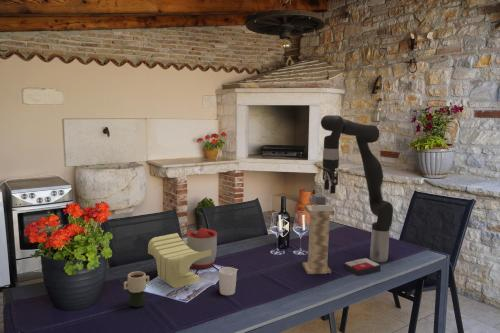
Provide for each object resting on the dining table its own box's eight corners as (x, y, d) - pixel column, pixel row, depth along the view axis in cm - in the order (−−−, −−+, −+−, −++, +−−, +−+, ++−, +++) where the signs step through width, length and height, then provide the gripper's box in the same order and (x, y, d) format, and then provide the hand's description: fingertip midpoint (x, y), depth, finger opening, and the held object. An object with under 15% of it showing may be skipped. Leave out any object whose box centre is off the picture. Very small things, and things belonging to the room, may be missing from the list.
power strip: (331, 209, 202) (331, 203, 201) (332, 211, 199) (333, 204, 199) (311, 209, 200) (311, 203, 200) (312, 211, 198) (313, 204, 197)
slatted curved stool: (148, 274, 197) (148, 238, 195) (177, 266, 207) (177, 232, 205) (179, 296, 174) (179, 256, 172) (210, 287, 185) (211, 249, 182)
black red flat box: (343, 262, 210) (366, 256, 217) (343, 270, 211) (365, 264, 218) (358, 269, 201) (381, 263, 207) (357, 277, 201) (380, 271, 208)
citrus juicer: (207, 256, 223) (208, 220, 220) (222, 267, 208) (222, 229, 205) (180, 261, 215) (180, 224, 212) (193, 272, 200) (194, 233, 197)
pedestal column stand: (324, 264, 215) (327, 205, 211) (331, 273, 204) (334, 211, 199) (301, 264, 214) (304, 205, 210) (307, 274, 202) (310, 211, 198)
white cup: (229, 297, 175) (230, 275, 173) (214, 293, 179) (215, 271, 177) (239, 291, 181) (240, 269, 180) (225, 286, 185) (225, 265, 184)
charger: (316, 201, 218) (316, 190, 218) (325, 209, 203) (325, 197, 202) (307, 201, 218) (307, 190, 217) (315, 209, 202) (316, 197, 201)
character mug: (145, 298, 172) (145, 268, 171) (153, 304, 167) (153, 274, 165) (120, 305, 165) (120, 274, 164) (128, 312, 160) (127, 280, 158)
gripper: (318, 156, 199) (317, 188, 201) (328, 159, 185) (327, 194, 187) (333, 156, 200) (331, 188, 202) (344, 159, 186) (342, 194, 189)
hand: (329, 191), depth 195 cm, fingers open, 8 cm apart
